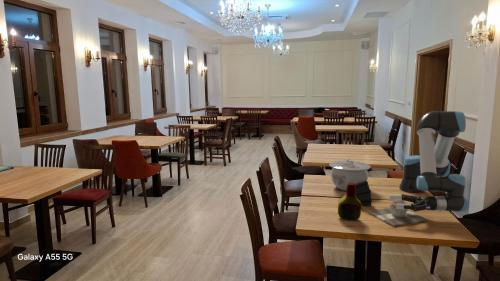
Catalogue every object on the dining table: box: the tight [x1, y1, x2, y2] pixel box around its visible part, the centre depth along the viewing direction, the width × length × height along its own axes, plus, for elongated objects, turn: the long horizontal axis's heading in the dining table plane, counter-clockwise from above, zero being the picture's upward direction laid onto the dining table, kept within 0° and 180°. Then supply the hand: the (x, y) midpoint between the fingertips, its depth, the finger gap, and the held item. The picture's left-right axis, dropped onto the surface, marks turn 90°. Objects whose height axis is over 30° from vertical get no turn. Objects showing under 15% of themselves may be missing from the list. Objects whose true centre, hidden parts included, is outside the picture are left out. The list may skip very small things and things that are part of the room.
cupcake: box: [389, 198, 409, 218], centre depth 176 cm, size 9×9×10 cm
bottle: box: [337, 183, 363, 221], centre depth 174 cm, size 12×6×20 cm, turn 67°
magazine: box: [355, 180, 373, 207], centre depth 196 cm, size 4×13×15 cm, turn 67°
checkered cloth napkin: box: [367, 207, 429, 228], centre depth 177 cm, size 22×20×1 cm
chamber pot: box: [329, 159, 372, 192], centre depth 226 cm, size 28×28×21 cm
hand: (392, 201), depth 176 cm, fingers open, 13 cm apart
